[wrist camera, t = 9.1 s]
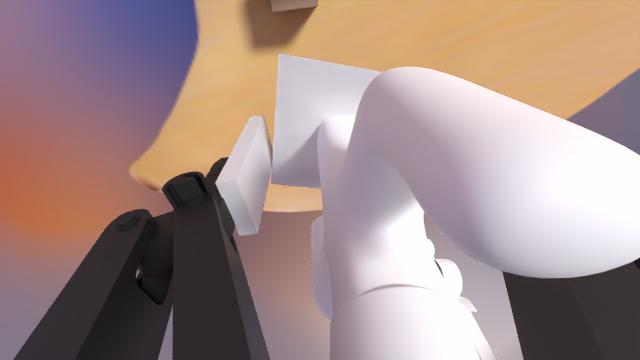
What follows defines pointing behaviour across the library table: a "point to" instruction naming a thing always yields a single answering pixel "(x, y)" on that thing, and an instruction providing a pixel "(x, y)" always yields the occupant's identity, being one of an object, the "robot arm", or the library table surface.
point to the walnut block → (292, 5)
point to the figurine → (440, 200)
